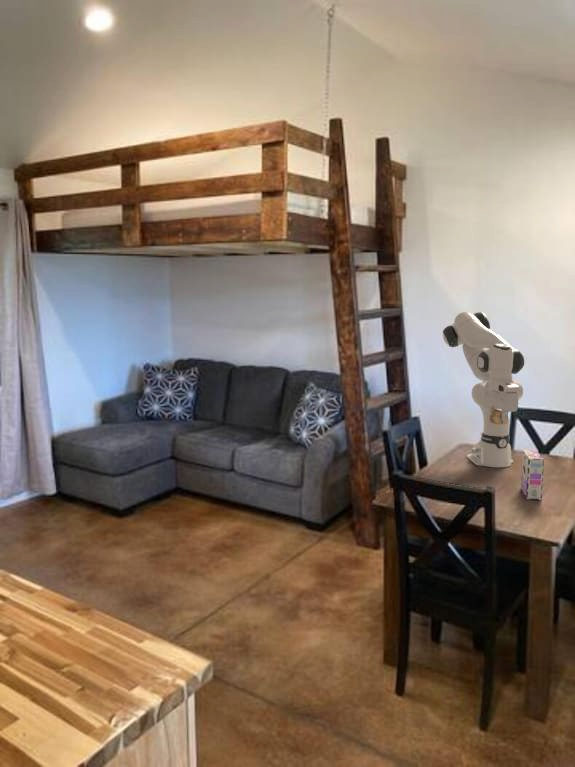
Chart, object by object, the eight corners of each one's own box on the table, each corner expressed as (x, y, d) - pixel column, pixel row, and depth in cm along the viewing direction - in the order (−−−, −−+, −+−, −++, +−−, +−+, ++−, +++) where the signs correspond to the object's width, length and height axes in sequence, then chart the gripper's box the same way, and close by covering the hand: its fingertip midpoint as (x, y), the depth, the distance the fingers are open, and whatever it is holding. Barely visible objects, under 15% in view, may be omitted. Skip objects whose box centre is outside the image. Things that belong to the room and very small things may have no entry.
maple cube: (489, 421, 253) (489, 409, 252) (500, 421, 254) (500, 408, 253) (496, 424, 248) (496, 412, 247) (507, 423, 249) (508, 411, 248)
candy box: (542, 500, 238) (544, 459, 236) (526, 499, 239) (528, 458, 237) (535, 489, 251) (537, 449, 249) (520, 488, 253) (522, 449, 250)
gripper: (479, 381, 258) (477, 413, 260) (507, 389, 238) (505, 424, 240) (492, 380, 259) (491, 412, 261) (522, 388, 239) (520, 423, 242)
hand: (498, 418), depth 251 cm, fingers closed on maple cube, 5 cm apart
